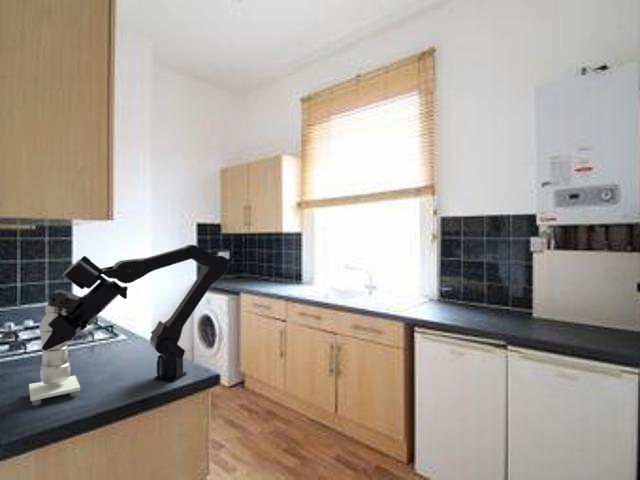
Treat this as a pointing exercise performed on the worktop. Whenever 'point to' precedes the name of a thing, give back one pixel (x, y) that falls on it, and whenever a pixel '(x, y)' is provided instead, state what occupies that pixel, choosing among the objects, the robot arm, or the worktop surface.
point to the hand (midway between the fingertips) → (48, 345)
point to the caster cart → (53, 389)
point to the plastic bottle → (53, 351)
